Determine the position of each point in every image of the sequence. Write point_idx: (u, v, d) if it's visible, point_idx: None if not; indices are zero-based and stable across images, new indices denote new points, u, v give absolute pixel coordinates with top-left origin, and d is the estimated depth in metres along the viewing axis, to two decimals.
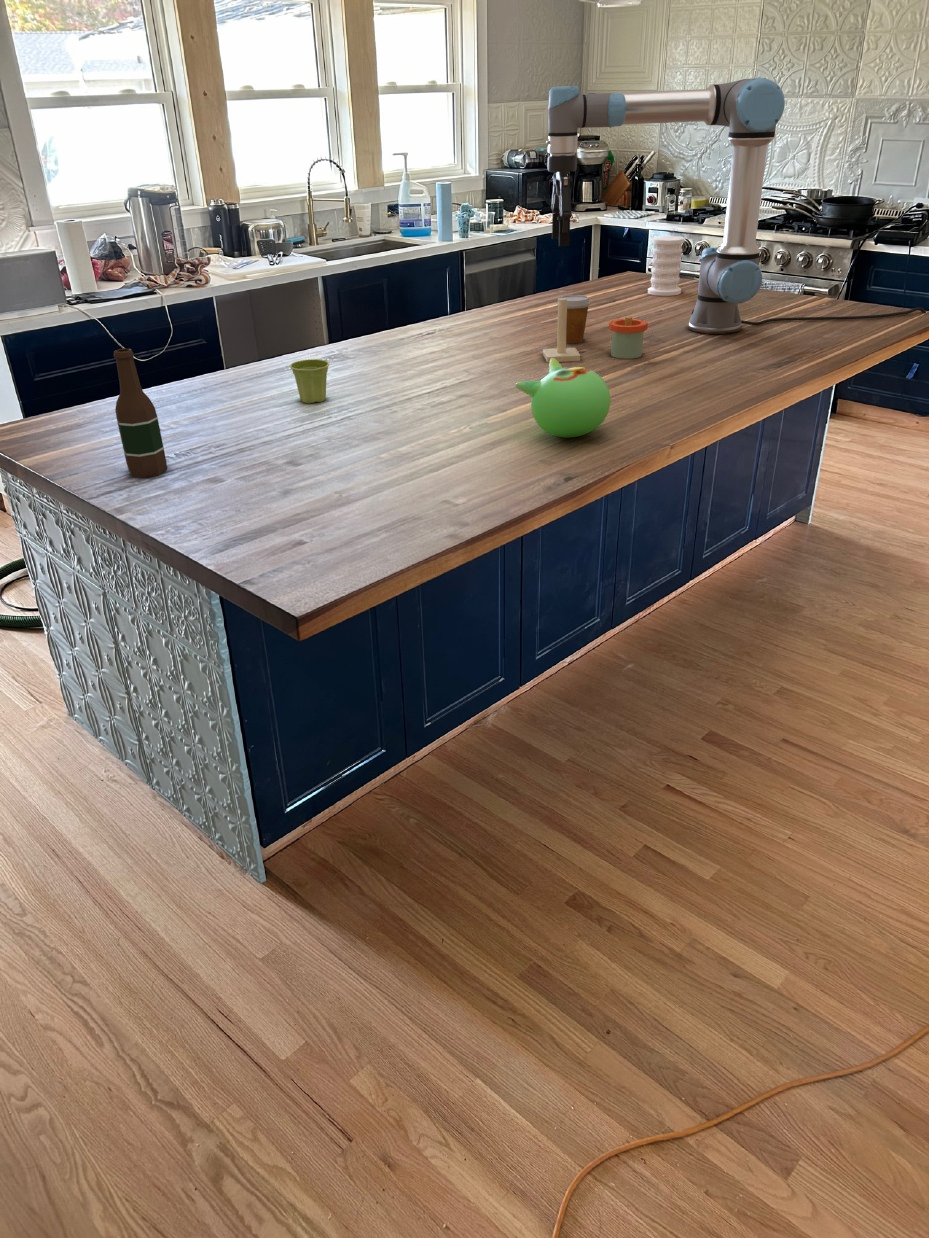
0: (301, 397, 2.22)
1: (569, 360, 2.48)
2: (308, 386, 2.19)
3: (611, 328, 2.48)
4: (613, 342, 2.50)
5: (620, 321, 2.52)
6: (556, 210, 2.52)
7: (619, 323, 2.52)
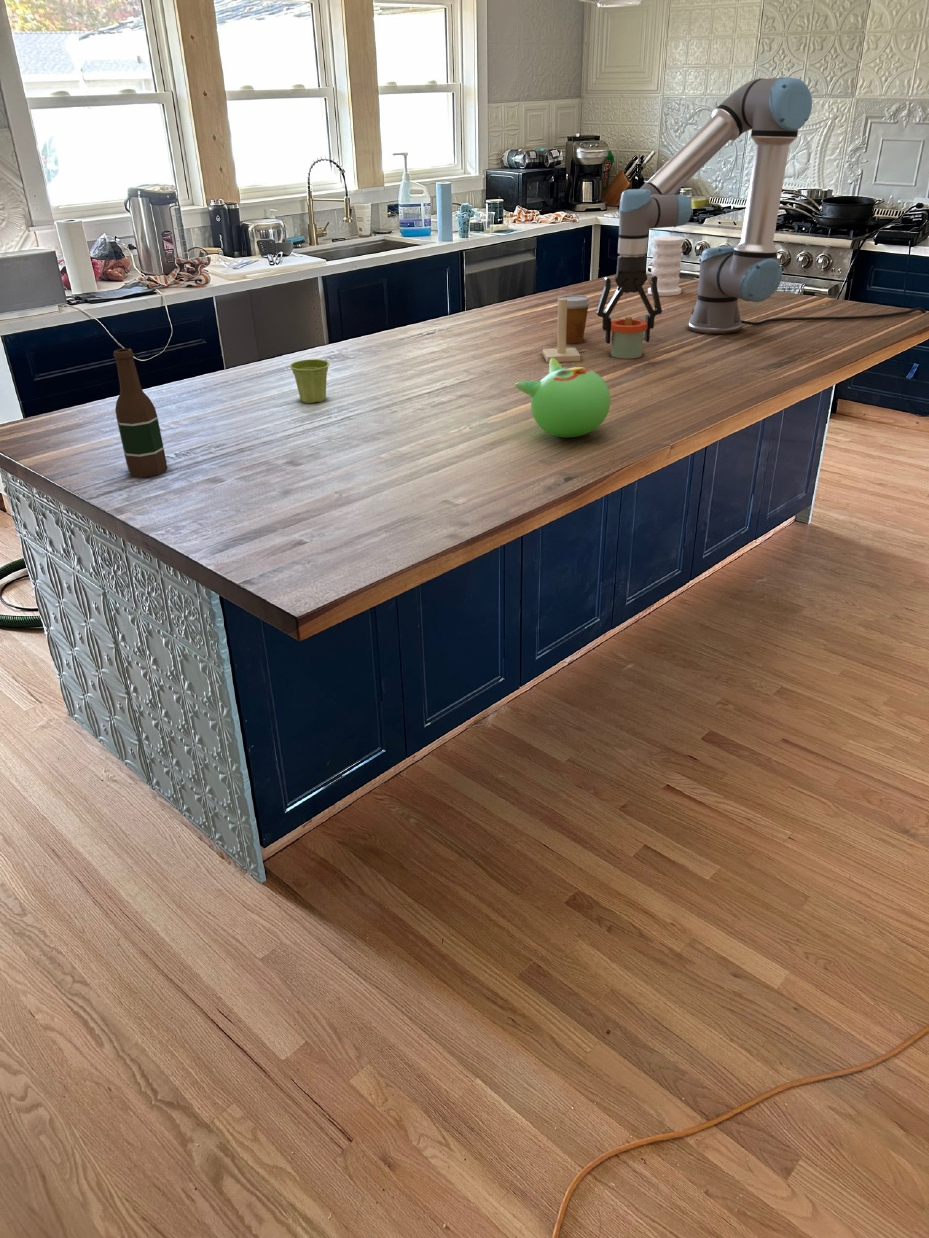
0: (301, 397, 2.22)
1: (569, 360, 2.48)
2: (308, 386, 2.19)
3: (611, 328, 2.48)
4: (613, 342, 2.50)
5: (620, 321, 2.52)
6: (649, 313, 2.48)
7: (619, 323, 2.52)
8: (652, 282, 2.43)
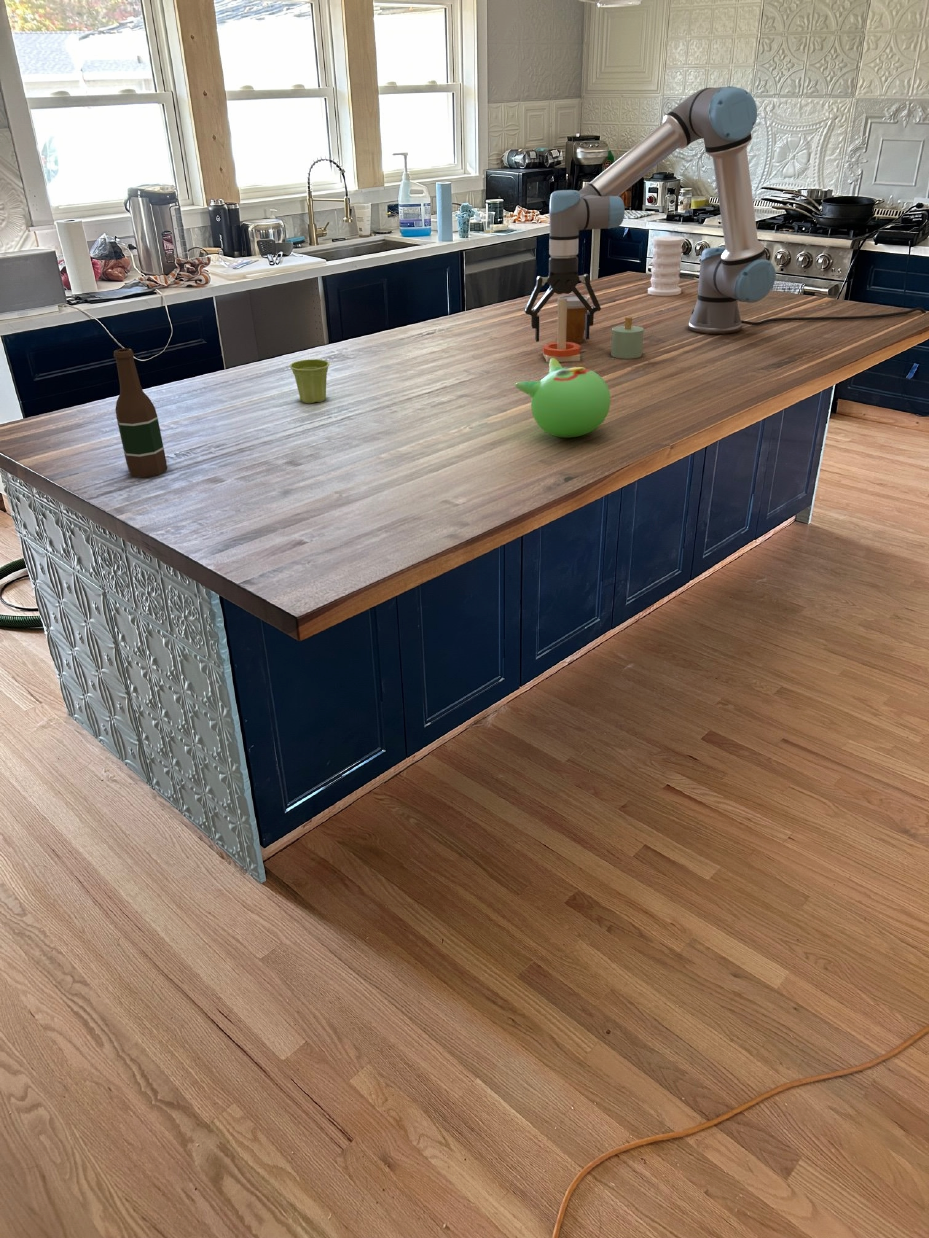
0: (301, 397, 2.22)
1: (569, 360, 2.48)
2: (308, 386, 2.19)
3: (544, 352, 2.50)
4: (613, 342, 2.50)
5: (554, 344, 2.54)
6: (589, 310, 2.47)
7: (553, 346, 2.54)
8: (585, 281, 2.42)
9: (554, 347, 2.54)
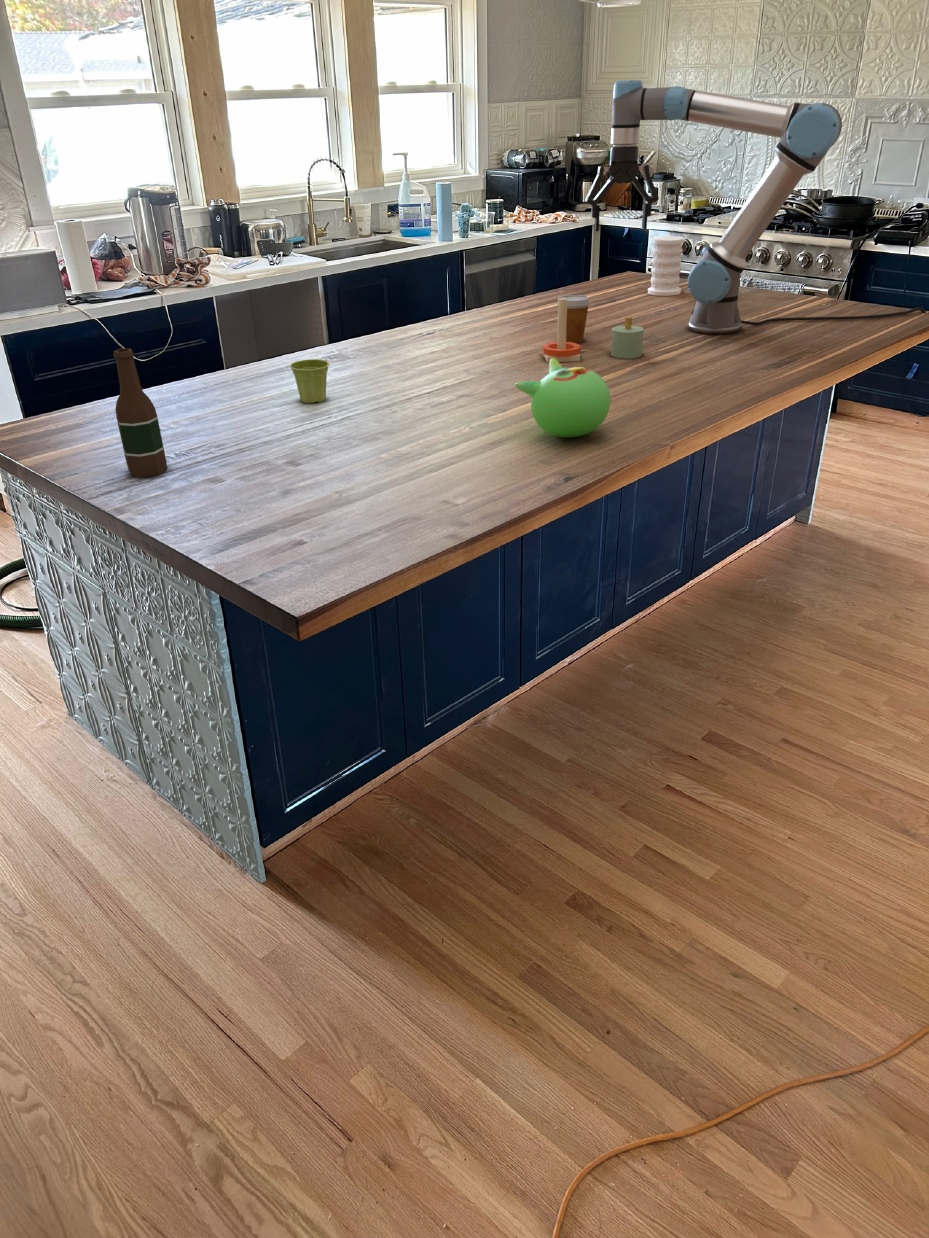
0: (301, 397, 2.22)
1: (569, 360, 2.48)
2: (308, 386, 2.19)
3: (544, 352, 2.50)
4: (613, 342, 2.50)
5: (554, 344, 2.54)
6: (647, 200, 2.58)
7: (553, 346, 2.54)
8: (644, 171, 2.53)
9: (554, 347, 2.54)
